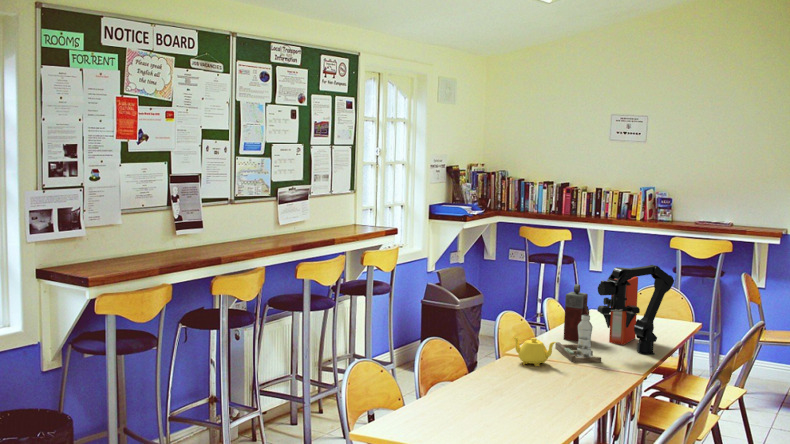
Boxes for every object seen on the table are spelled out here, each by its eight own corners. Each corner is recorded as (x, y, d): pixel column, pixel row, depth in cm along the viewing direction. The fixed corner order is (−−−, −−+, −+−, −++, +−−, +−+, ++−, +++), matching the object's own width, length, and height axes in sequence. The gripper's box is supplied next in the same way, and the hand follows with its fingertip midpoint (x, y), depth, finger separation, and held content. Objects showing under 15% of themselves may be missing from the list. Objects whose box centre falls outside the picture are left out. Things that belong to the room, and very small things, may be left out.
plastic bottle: (591, 360, 353) (593, 317, 352) (576, 359, 355) (578, 316, 353) (590, 357, 360) (593, 314, 358) (575, 356, 361) (578, 313, 359)
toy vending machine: (585, 342, 387) (588, 287, 385) (563, 339, 393) (566, 284, 390) (590, 339, 395) (593, 284, 393) (568, 336, 401) (571, 282, 398)
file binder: (608, 342, 389) (611, 279, 387) (619, 336, 404) (623, 275, 401) (624, 345, 385) (628, 281, 382) (635, 338, 399) (638, 277, 396)
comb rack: (583, 348, 375) (583, 340, 375) (601, 362, 351) (601, 354, 351) (555, 348, 374) (555, 340, 374) (571, 362, 350) (571, 353, 350)
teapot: (560, 362, 349) (561, 337, 348) (550, 370, 336) (551, 344, 335) (517, 356, 358) (518, 331, 357) (506, 363, 345) (507, 338, 344)
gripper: (629, 291, 372) (627, 323, 374) (593, 291, 369) (591, 324, 370) (641, 295, 361) (639, 328, 363) (603, 296, 358) (601, 329, 359)
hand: (617, 327), depth 364 cm, fingers open, 9 cm apart
